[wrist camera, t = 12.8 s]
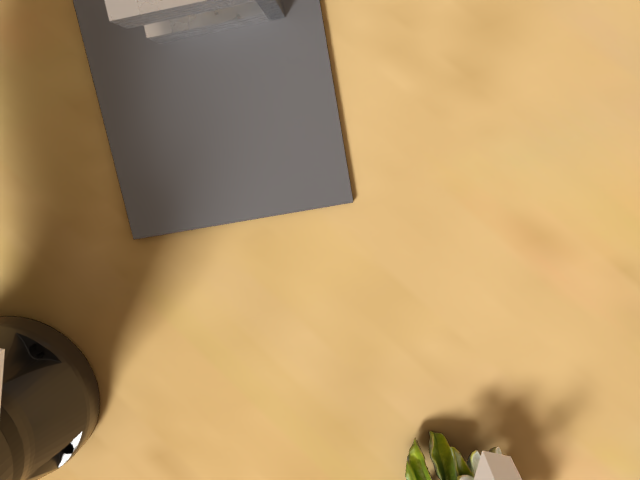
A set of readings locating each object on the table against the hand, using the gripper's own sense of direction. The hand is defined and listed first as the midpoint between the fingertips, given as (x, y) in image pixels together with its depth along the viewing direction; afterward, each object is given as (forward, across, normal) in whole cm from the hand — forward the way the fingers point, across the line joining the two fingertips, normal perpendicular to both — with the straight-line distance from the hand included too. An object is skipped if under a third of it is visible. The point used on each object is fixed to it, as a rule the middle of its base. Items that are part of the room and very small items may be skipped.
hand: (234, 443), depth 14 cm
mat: (+30, -11, +11) cm, 34 cm away
